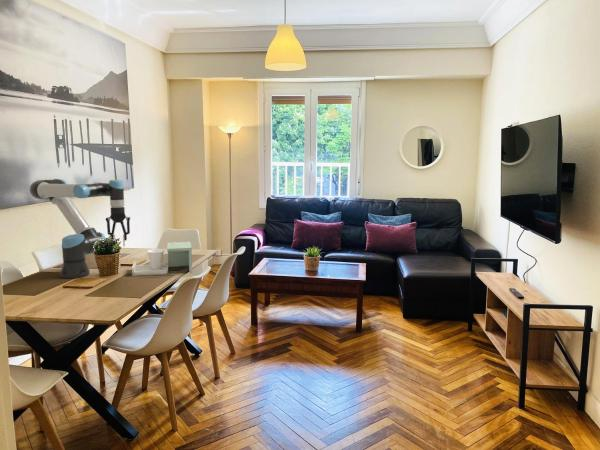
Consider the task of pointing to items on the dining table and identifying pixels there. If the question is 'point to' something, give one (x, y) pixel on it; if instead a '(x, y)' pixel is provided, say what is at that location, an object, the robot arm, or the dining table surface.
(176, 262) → the pale green block
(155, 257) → the cup
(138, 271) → the tray
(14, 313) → the dining table surface
